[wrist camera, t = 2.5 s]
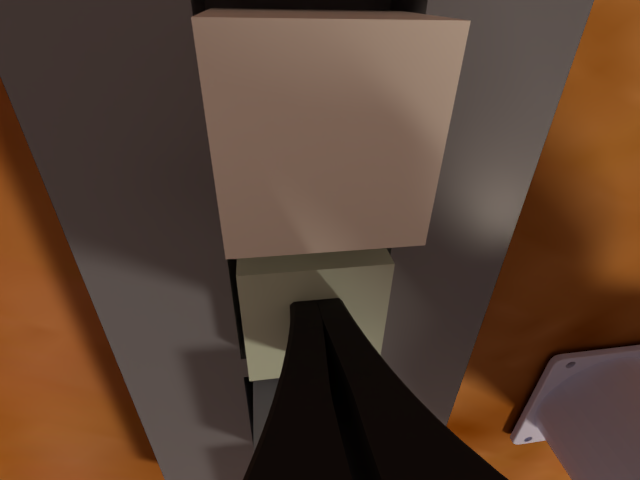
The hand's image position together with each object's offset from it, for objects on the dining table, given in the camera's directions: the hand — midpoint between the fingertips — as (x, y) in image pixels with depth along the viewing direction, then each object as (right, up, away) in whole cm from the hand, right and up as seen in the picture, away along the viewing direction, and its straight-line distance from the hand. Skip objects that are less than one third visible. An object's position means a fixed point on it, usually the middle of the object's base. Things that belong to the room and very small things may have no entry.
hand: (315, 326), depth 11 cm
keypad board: (-1, 0, +5) cm, 5 cm away
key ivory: (0, +6, -2) cm, 6 cm away
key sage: (0, +2, +3) cm, 3 cm away
